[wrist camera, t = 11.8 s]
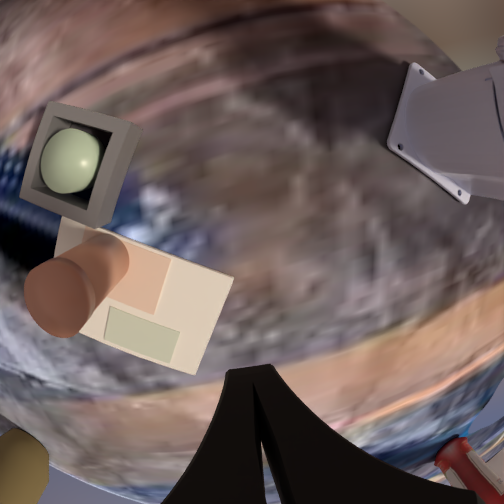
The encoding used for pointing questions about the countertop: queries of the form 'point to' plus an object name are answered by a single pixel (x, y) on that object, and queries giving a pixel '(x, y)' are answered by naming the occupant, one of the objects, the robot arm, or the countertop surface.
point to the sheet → (154, 302)
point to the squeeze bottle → (22, 468)
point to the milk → (497, 464)
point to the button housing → (108, 176)
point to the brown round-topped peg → (75, 284)
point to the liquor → (469, 471)
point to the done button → (71, 161)
